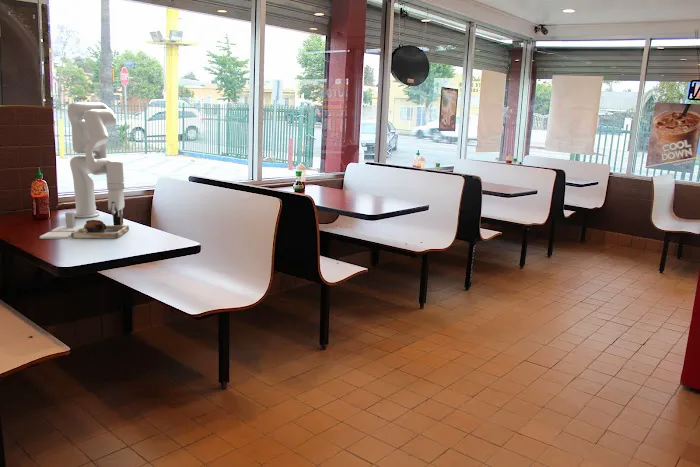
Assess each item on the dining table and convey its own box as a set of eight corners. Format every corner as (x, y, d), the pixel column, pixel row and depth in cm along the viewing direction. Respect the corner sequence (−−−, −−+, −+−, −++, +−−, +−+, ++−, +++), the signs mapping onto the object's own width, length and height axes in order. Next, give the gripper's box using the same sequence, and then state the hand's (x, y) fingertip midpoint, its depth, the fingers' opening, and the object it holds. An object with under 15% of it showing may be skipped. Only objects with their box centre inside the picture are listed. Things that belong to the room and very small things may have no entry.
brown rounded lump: (78, 238, 268) (79, 220, 270) (94, 243, 276) (95, 226, 279) (98, 233, 264) (99, 216, 266) (114, 239, 272) (115, 222, 274)
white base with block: (59, 228, 284) (58, 212, 282) (85, 228, 285) (83, 212, 283) (39, 238, 263) (37, 221, 262) (67, 238, 264) (65, 221, 262)
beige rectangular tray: (90, 226, 288) (89, 210, 286) (133, 226, 289) (131, 210, 287) (71, 237, 265) (69, 220, 263) (117, 237, 266) (116, 220, 264)
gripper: (113, 183, 289) (116, 220, 294) (101, 188, 273) (104, 227, 278) (129, 184, 290) (131, 220, 294) (118, 189, 274) (120, 228, 278)
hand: (118, 223), depth 286 cm, fingers closed on beige rectangular tray, 3 cm apart
